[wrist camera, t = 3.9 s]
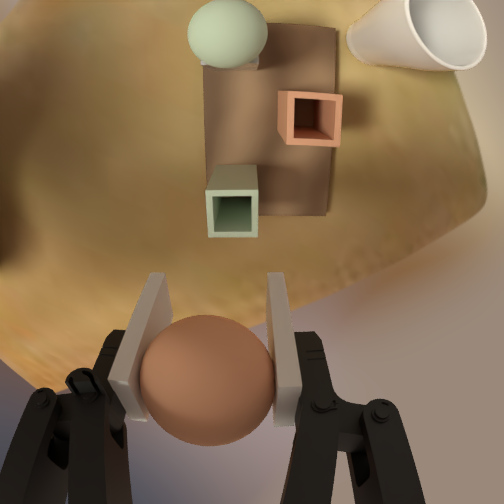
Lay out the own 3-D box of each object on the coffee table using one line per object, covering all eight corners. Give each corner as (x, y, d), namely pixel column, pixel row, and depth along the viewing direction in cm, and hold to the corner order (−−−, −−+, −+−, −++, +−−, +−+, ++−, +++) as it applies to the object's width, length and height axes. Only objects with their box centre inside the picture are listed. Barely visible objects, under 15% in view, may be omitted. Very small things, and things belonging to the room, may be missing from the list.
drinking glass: (336, 66, 26) (403, 54, 13) (338, 8, 23) (401, -40, 10) (396, 78, 26) (487, 84, 13) (398, 22, 23) (486, -2, 10)
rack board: (210, 211, 34) (208, 215, 33) (204, 26, 24) (203, 24, 23) (323, 211, 34) (325, 216, 33) (332, 30, 24) (335, 28, 23)
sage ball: (195, 72, 19) (180, 68, 15) (195, 10, 17) (180, -8, 12) (265, 70, 19) (270, 65, 15) (265, 8, 17) (269, -13, 12)
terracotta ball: (165, 369, 14) (148, 459, 10) (143, 287, 12) (104, 391, 7) (268, 370, 14) (276, 464, 10) (273, 287, 12) (287, 399, 7)
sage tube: (217, 202, 32) (208, 237, 25) (216, 165, 30) (205, 190, 23) (256, 202, 32) (257, 237, 25) (256, 164, 30) (258, 189, 23)
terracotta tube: (277, 130, 28) (286, 144, 22) (277, 90, 27) (287, 90, 20) (317, 132, 29) (339, 147, 22) (319, 92, 27) (342, 95, 20)
